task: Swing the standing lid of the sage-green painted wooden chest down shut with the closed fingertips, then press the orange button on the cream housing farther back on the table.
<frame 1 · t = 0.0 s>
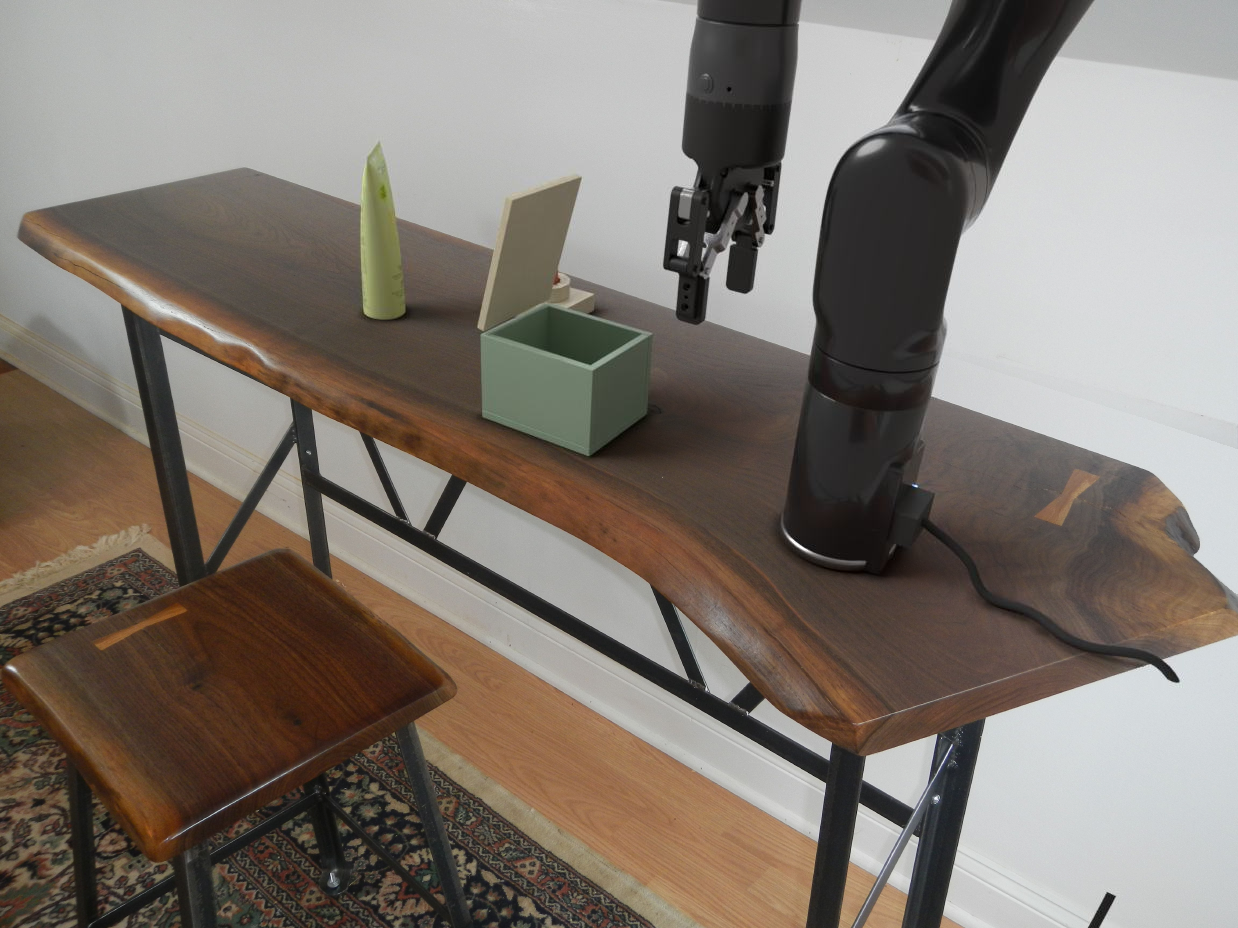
hand: (715, 305, 76), 17 cm above the table, tool pointing down, fingers open, 8 cm apart
tube: (384, 315, 115), on the table
button: (543, 275, 116), point 4 cm above the table, slide at 0.1 cm
chest: (565, 415, 95), on the table
button box: (542, 310, 118), on the table
lid: (529, 252, 89), point 16 cm above the table, hinge at 75.0°
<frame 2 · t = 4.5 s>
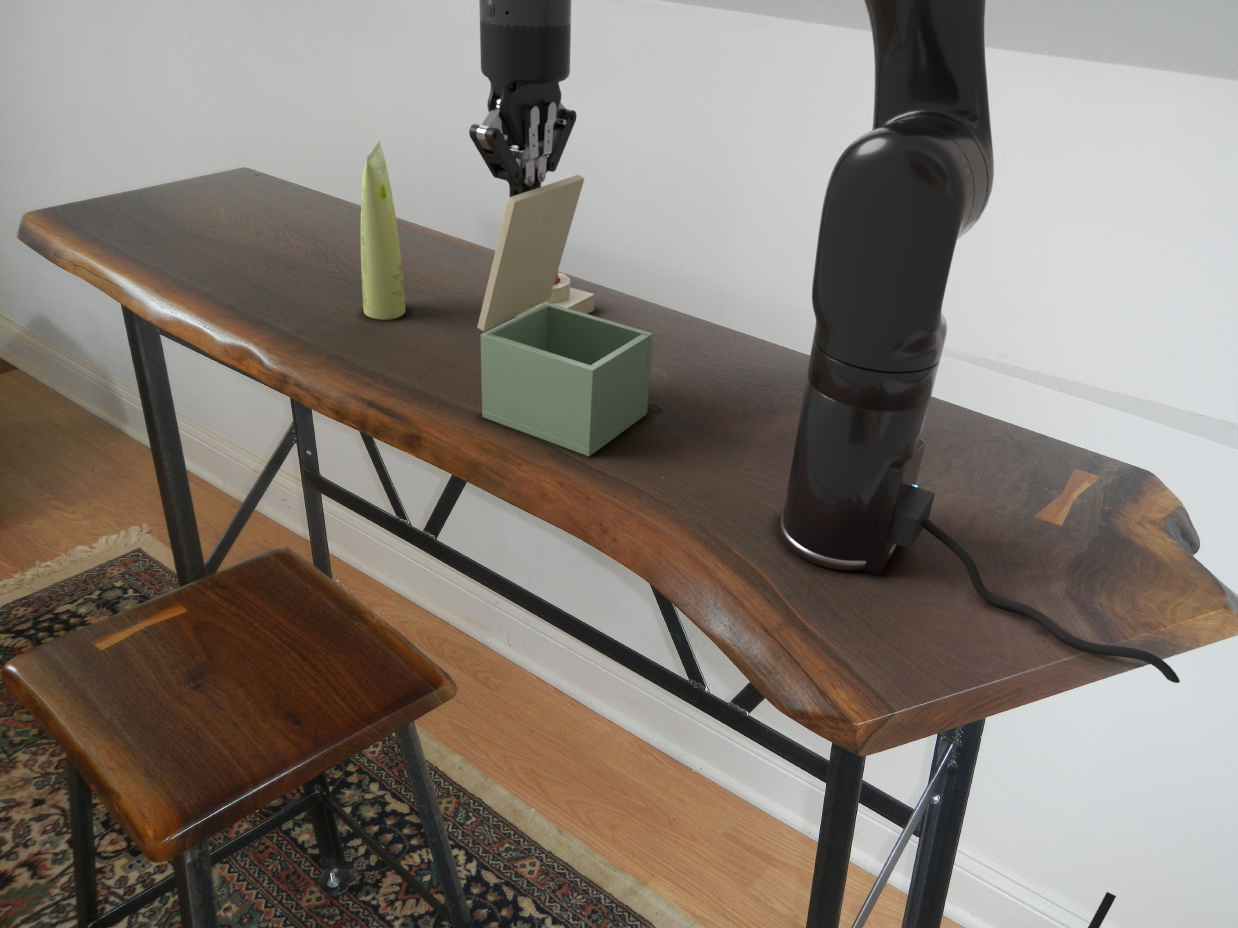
hand: (525, 223, 88), 18 cm above the table, tool pointing down, fingers closed
lid: (530, 253, 89), point 16 cm above the table, hinge at 73.7°, touching gripper
everything else where it was.
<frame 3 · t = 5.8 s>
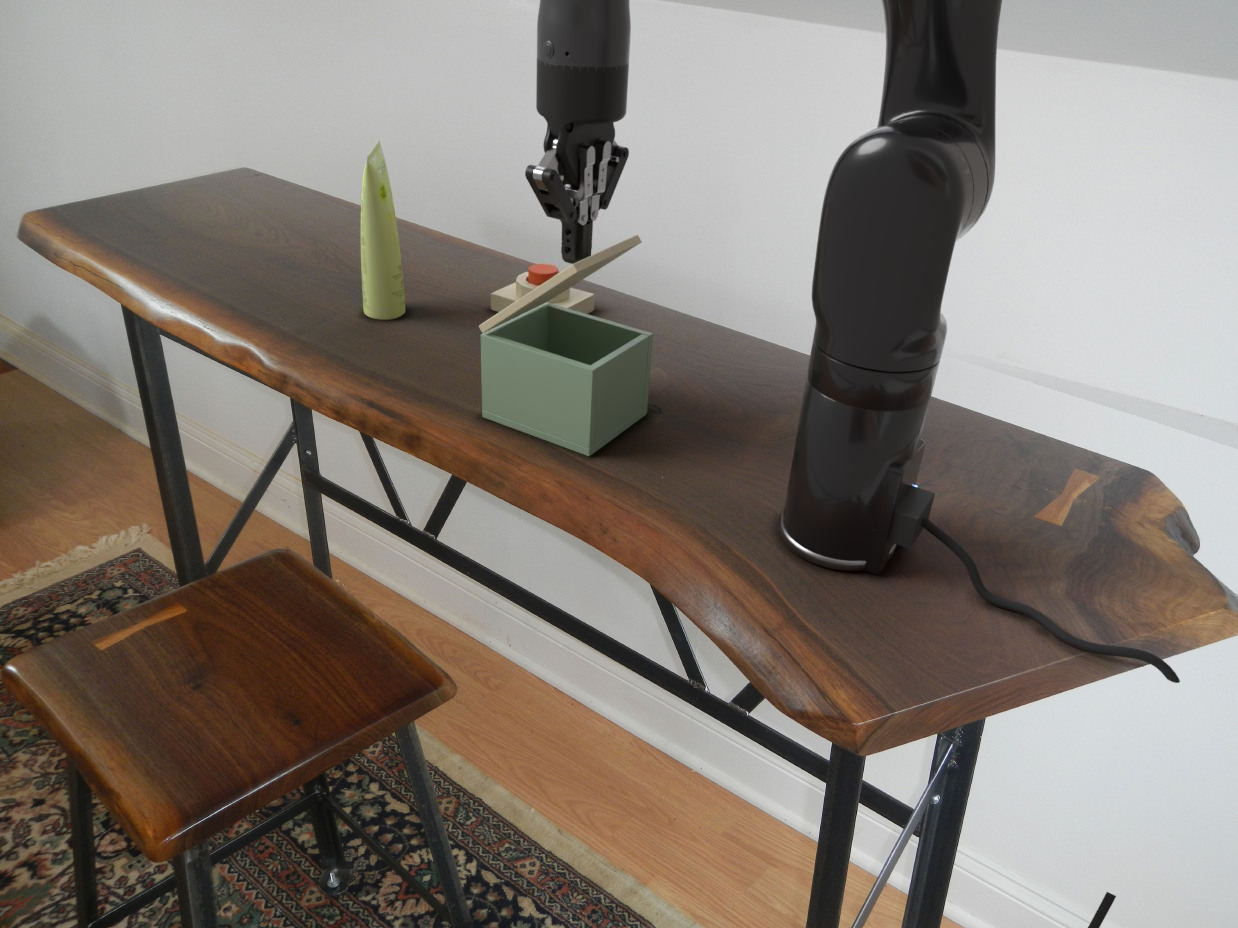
hand: (576, 261, 86), 16 cm above the table, tool pointing down, fingers closed
lid: (559, 284, 89), point 13 cm above the table, hinge at 38.8°, touching gripper
everything else where it was.
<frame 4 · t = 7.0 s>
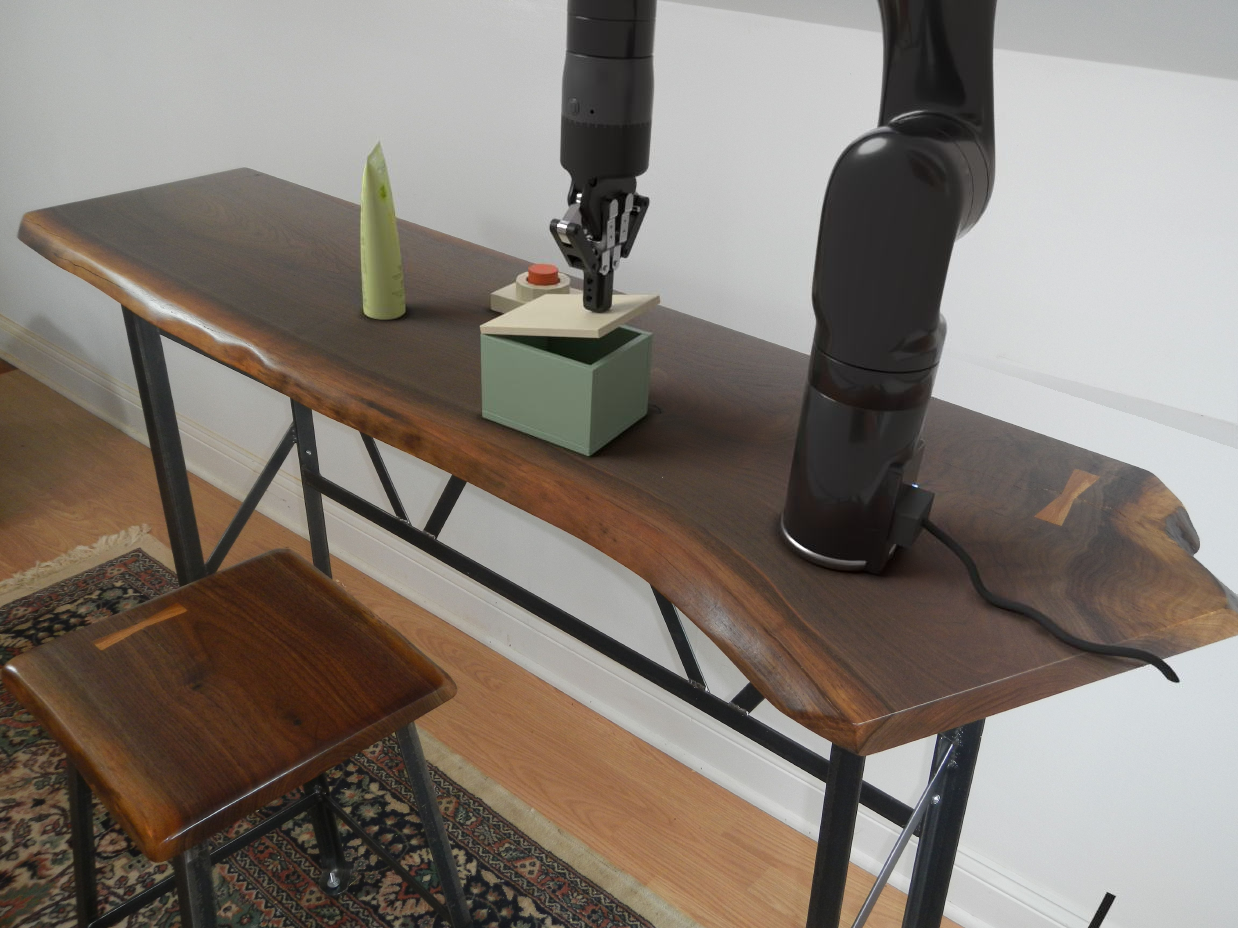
hand: (597, 309, 87), 12 cm above the table, tool pointing down, fingers closed
lid: (570, 314, 89), point 11 cm above the table, hinge at 13.5°
everything else where it was.
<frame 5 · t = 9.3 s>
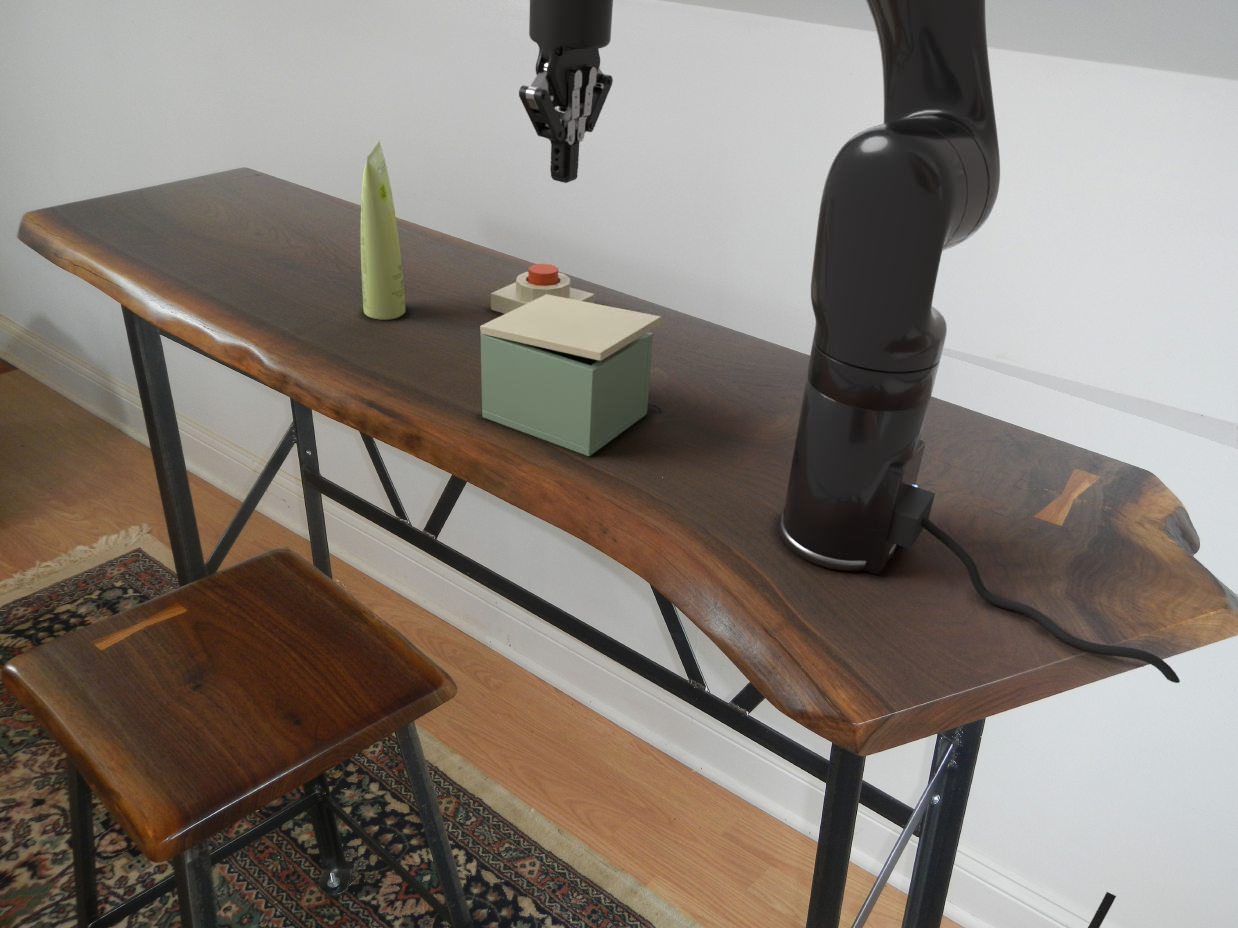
hand: (564, 179, 95), 20 cm above the table, tool pointing down, fingers closed
lid: (571, 325, 90), point 10 cm above the table, hinge at 4.6°
everything else where it was.
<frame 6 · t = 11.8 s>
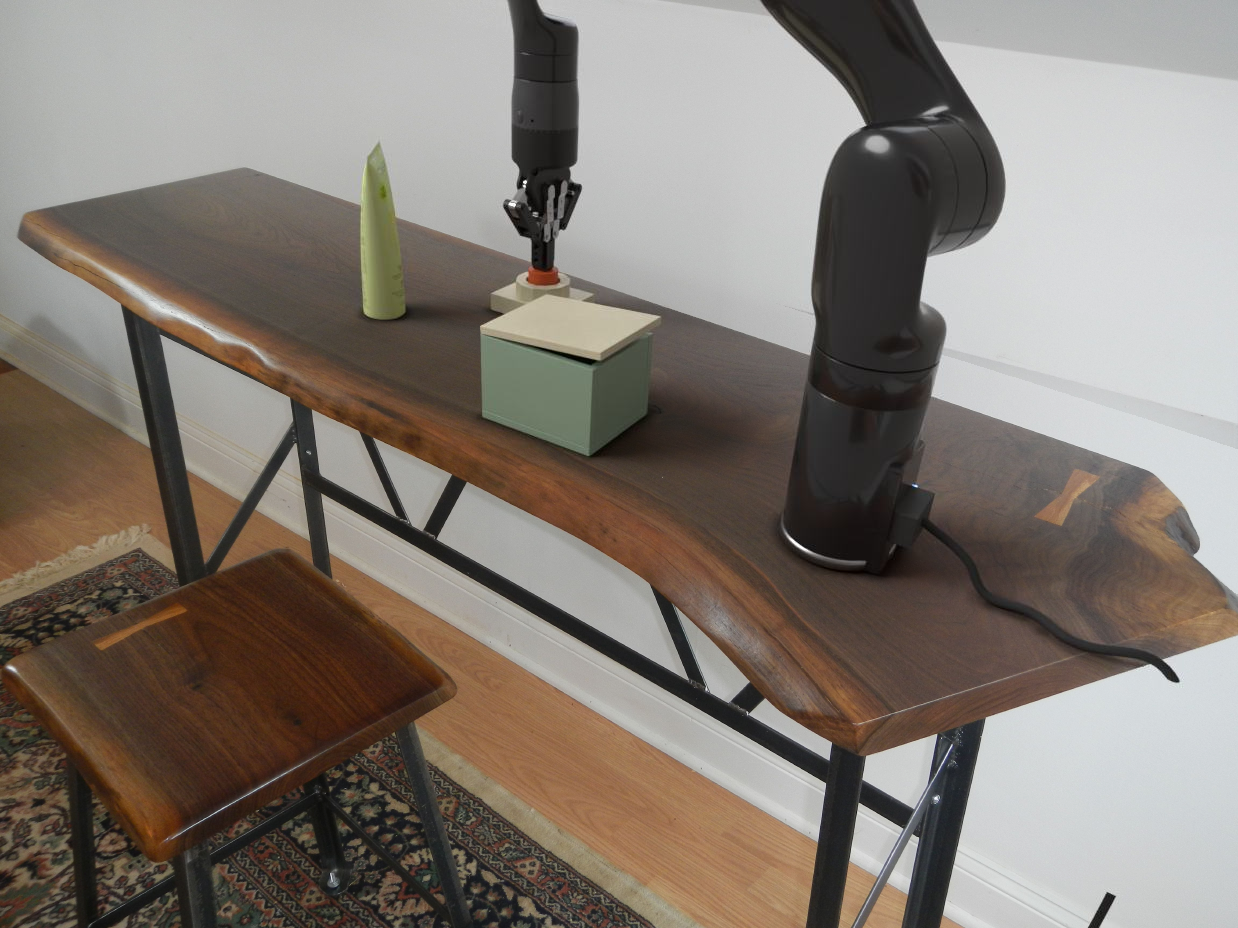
hand: (542, 268, 116), 5 cm above the table, tool pointing down, fingers closed
button: (543, 276, 116), point 4 cm above the table, slide at 0.1 cm, touching gripper
everything else where it was.
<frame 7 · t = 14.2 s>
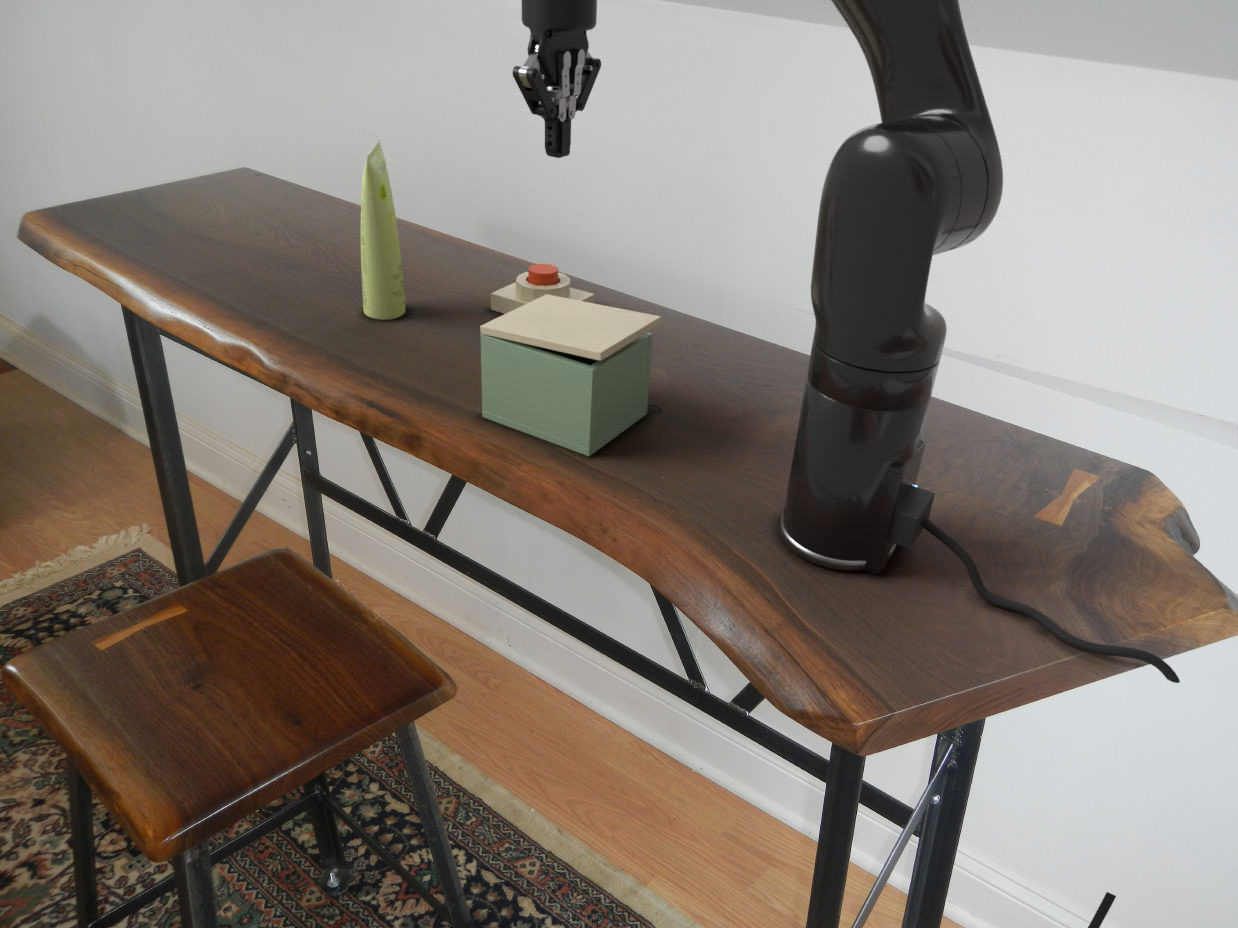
hand: (557, 155, 103), 20 cm above the table, tool pointing down, fingers closed
button: (543, 275, 116), point 4 cm above the table, slide at 0.1 cm
everything else where it was.
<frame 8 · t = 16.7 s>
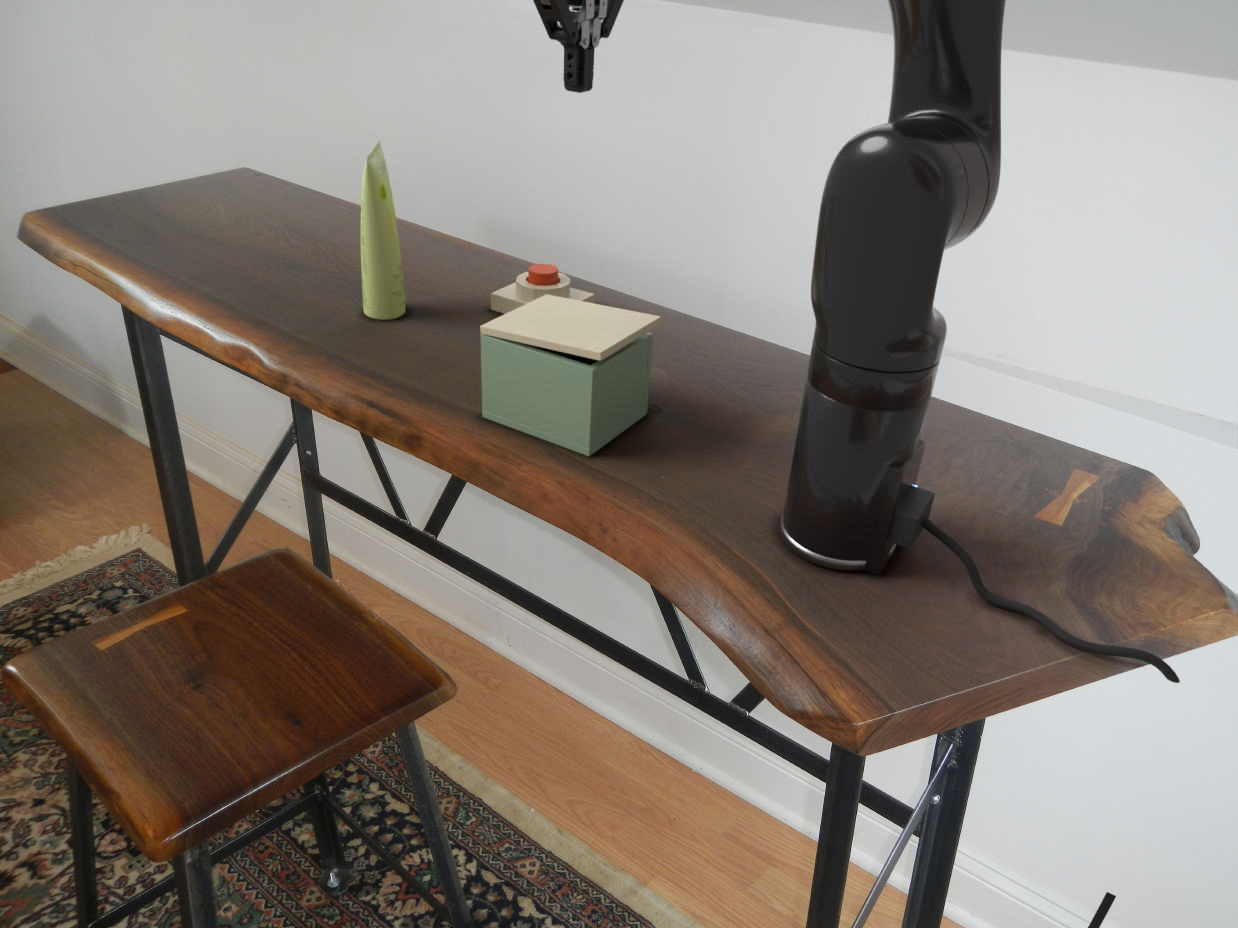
hand: (578, 90, 88), 29 cm above the table, tool pointing down, fingers closed
nothing on the table moved.
at the end: lid at +5° (first picture: +75°); button pushed in 1.1 cm at the most during the clip, back to where it started at the end; button slide at 0.1 cm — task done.
